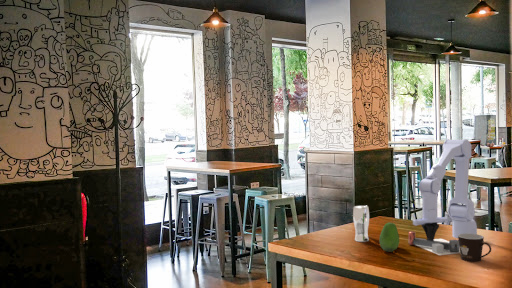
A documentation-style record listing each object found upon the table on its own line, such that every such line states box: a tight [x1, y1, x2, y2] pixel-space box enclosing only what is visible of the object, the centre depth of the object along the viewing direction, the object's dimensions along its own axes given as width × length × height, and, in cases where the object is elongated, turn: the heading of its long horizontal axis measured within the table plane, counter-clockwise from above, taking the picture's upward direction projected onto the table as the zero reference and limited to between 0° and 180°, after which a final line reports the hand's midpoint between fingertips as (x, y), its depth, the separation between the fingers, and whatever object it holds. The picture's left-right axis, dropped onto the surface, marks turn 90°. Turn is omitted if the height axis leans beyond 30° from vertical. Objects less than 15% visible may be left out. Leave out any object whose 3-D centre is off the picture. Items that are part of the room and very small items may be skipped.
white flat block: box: [415, 238, 460, 256], centre depth 197 cm, size 16×22×4 cm
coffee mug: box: [457, 233, 492, 263], centre depth 177 cm, size 12×9×10 cm
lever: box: [408, 231, 460, 252], centre depth 195 cm, size 21×4×5 cm, turn 46°
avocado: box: [378, 222, 400, 253], centre depth 197 cm, size 8×8×12 cm
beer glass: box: [352, 205, 370, 243], centre depth 217 cm, size 7×7×15 cm
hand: (430, 241), depth 199 cm, fingers closed
